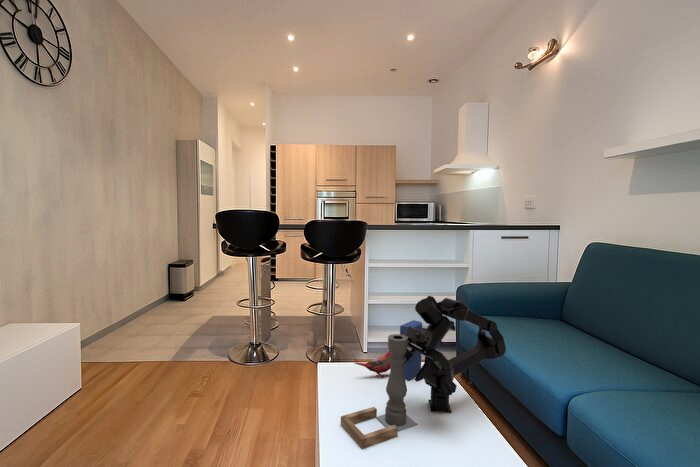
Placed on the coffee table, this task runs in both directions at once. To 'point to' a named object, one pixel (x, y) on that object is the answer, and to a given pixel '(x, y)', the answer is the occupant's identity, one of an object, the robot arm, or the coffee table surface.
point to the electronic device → (415, 361)
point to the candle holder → (396, 381)
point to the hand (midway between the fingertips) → (405, 374)
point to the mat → (408, 424)
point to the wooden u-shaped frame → (369, 438)
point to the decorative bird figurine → (378, 364)
